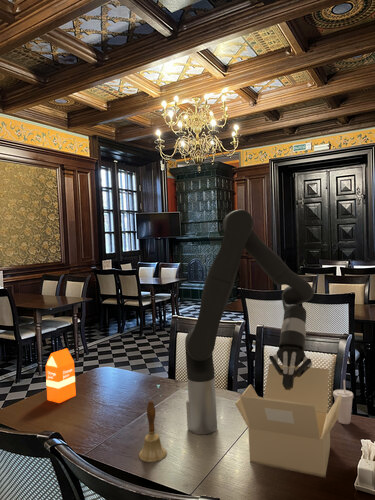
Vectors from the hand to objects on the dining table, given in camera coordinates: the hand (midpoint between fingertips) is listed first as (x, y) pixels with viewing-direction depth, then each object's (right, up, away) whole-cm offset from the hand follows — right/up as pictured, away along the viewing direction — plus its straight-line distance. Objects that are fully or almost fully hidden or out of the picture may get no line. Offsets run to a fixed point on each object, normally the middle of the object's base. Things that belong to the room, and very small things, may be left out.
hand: (287, 388), depth 109 cm
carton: (+4, -19, +6) cm, 21 cm away
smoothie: (+24, -18, +19) cm, 36 cm away
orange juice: (-82, -23, +52) cm, 100 cm away
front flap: (-4, -4, -10) cm, 11 cm away
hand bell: (-39, -22, +5) cm, 45 cm away
